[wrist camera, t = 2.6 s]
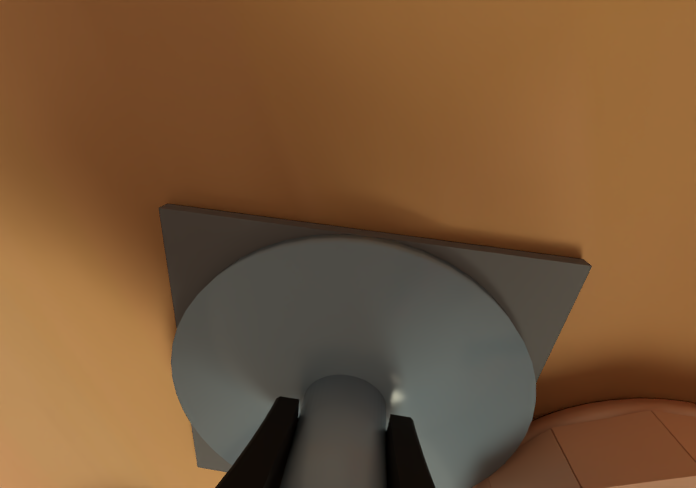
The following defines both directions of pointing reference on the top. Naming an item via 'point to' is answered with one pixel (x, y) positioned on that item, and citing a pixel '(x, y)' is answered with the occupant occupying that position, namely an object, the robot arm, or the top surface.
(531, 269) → the mat
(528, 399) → the lid
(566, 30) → the top surface
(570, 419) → the bowl
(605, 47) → the top surface
